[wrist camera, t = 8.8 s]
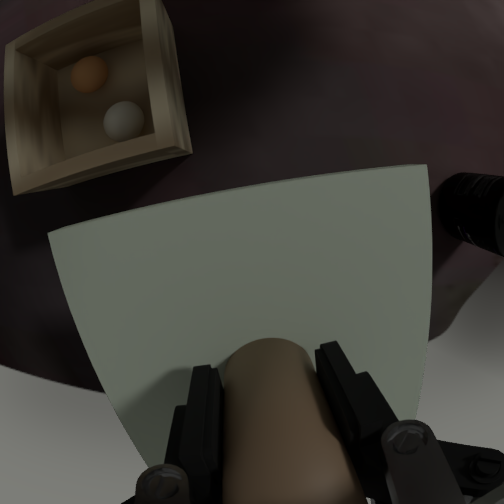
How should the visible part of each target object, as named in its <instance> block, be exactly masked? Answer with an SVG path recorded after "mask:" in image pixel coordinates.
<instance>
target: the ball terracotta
mask: <svg viewBox="0 0 504 504" xmlns="http://www.w3.org/2000/svg"><path fill="white" fill-rule="evenodd" d="M107 77H108V67H107V64H106V63H105V61H104V60H103V59H101V58H100V57H97V56H87V57H84V58H82V59H81V60H79V61H78V62H77V63H76V64H75V65H74V67H73V69H72V71H71V83H72V85H73V87H74V88H75V89H76V90H77V91H79V92H82V93H91V92H94V91H96V90H98V89H99V88H101V87H102V86H103V85H104V83H105V82H106V80H107Z"/></svg>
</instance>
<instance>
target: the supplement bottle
mask: <svg viewBox="0 0 504 504" xmlns="http://www.w3.org/2000/svg"><path fill="white" fill-rule="evenodd" d="M439 215H440V219H441V222H442V225H443V227H444V228H445V230H446V231H447V232H448V233H449V234H450V235H451V236H453V237H455V238H457V239H460V240H462V241H465V242H467V243H470V244H472V245H475V246H477V247H480V248H482V249H485V250H487V251H490V252H492V253H495V254H497V255H499V256H502V257H504V176H496V175H487V174H477V173H466V172H463V173H457V174H455V175H453V176H452V177H450V178H449V179H448V180H447V182H446V183H445V185H444V187H443V189H442V191H441V194H440V198H439Z"/></svg>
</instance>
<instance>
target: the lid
mask: <svg viewBox="0 0 504 504" xmlns="http://www.w3.org/2000/svg"><path fill="white" fill-rule="evenodd" d="M48 237H49V241H50V245H51V249H52V253H53V257H54V260H55V264H56V267H57V271H58V274H59V277H60V280H61V284H62V287H63V290H64V293H65V296H66V299H67V302H68V305H69V308H70V310H71V313H72V316H73V319H74V321H75V324H76V327H77V329H78V332H79V334H80V337H81V339H82V342H83V344H84V347H85V349H86V351H87V354H88V356H89V358H90V361H91V363H92V365H93V367H94V369H95V372H96V374H97V376H98V378H99V380H100V382H101V384H102V386H103V388H104V391H105V393H106V395H107V397H108V398H109V400H110V402H111V404H112V406H113V408H114V410H115V412H116V414H117V416H118V417H119V419H120V421H121V423H122V425H123V426H124V428H125V430H126V432H127V433H128V435H129V436H130V439H131V440H132V442H133V443H134V445H135V447H136V448H137V450H138V452H139V453H140V455H141V456H142V458H143V460H144V461H145V463H146V464H147V466H148V467H149V468H150V467H152V466H155V465H159V464H164V459H165V454H166V449H167V444H168V439H169V434H170V429H171V424H172V419H173V414H174V410H175V407H176V406H177V405H187V399H188V393H189V387H190V381H191V376H192V370H193V367H194V366H200V365H207V364H210V365H211V367H212V368H216V367H217V369H218V372H219V375H220V379H221V382H222V386H223V389H224V398H223V463H222V504H368V502H367V499H366V497H365V494H364V491H363V489H362V486H361V484H360V481H359V479H358V476H357V474H356V471H355V468H354V466H353V463H352V461H351V458H350V456H349V453H348V451H347V448H346V446H345V443H344V441H343V438H342V436H341V433H340V430H339V428H338V425H337V423H336V420H335V418H334V415H333V413H332V410H331V408H330V405H329V403H328V400H327V398H326V395H325V393H324V390H323V388H322V386H321V383H320V381H319V378H318V376H317V373H316V363H315V349H320V344H322V343H327V342H331V341H335V340H336V341H337V342H338V344H339V345H340V347H341V349H342V350H343V352H344V354H345V355H346V357H347V359H348V361H349V362H350V364H351V366H352V367H353V369H354V371H355V372H356V374H357V373H361V372H364V371H367V372H368V373H369V374H370V375H371V377H372V378H373V380H374V382H375V383H376V385H377V386H378V388H379V389H380V391H381V393H382V394H383V396H384V397H385V399H386V401H387V402H388V404H389V405H390V407H391V409H392V410H393V412H394V413H395V415H396V417H397V418H398V420H399V421H401V420H407V419H410V420H415V418H416V414H417V409H418V404H419V399H420V393H421V387H422V381H423V375H424V368H425V361H426V352H427V344H428V335H429V324H430V310H431V292H432V223H431V205H430V191H429V180H428V171H427V165H399V166H389V167H379V168H370V169H361V170H353V171H345V172H337V173H329V174H322V175H315V176H308V177H301V178H294V179H287V180H281V181H275V182H269V183H263V184H257V185H251V186H245V187H239V188H234V189H228V190H223V191H218V192H212V193H207V194H202V195H197V196H192V197H187V198H182V199H178V200H173V201H168V202H164V203H159V204H154V205H150V206H146V207H141V208H137V209H133V210H128V211H124V212H120V213H116V214H112V215H108V216H104V217H100V218H96V219H92V220H88V221H84V222H80V223H77V224H73V225H69V226H66V227H62V228H60V229H57V230H55V231H52V232H49V233H48Z"/></svg>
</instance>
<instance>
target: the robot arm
mask: <svg viewBox="0 0 504 504" xmlns="http://www.w3.org/2000/svg"><path fill="white" fill-rule="evenodd" d="M315 363H316V373H317V376H318V378H319V381H320V383H321V386H322V388H323V390H324V393H325V395H326V398H327V400H328V403H329V405H330V408H331V410H332V413H333V415H334V418H335V420H336V423H337V425H338V428H339V430H340V433H341V436H342V438H343V441H344V443H345V446H346V448H347V451H348V453H349V456H350V458H351V461H352V463H353V466H354V468H355V471H356V474H357V476H358V479H359V481H360V484H361V486H362V489H363V491H364V494H365V497H368V498H371V504H504V454H503V453H502V452H500V451H499V450H495V449H491V448H484V447H476V446H470V445H463V444H457V443H452V442H446V441H441V440H437V439H436V437H435V436H434V433H433V432H432V430H431V428H430V427H429V426H428V425H426V424H425V423H423V422H421V421H418V420H410V419H407V420H401V421H399V420H398V418H397V417H396V415H395V413H394V412H393V410H392V409H391V407H390V405H389V404H388V402H387V401H386V399H385V397H384V396H383V394H382V393H381V391H380V389H379V388H378V386H377V385H376V383H375V382H374V380H373V378H372V377H371V375H370V374H369V373H368V372H367V371H364V372H361V373H357V374H356V372H355V371H354V369H353V367H352V366H351V364H350V362H349V361H348V359H347V357H346V355H345V354H344V352H343V350H342V349H341V347H340V345H339V344H338V342H337V341H336V340H335V341H331V342H327V343H322V344H320V349H315ZM223 398H224V389H223V386H222V382H221V379H220V375H219V372H218V369H217V367H216V368H212V367H211V365H210V364H207V365H200V366H194V367H193V370H192V376H191V381H190V387H189V393H188V399H187V405H177V406H176V407H175V410H174V414H173V419H172V424H171V429H170V434H169V439H168V444H167V449H166V454H165V459H164V464H159V465H155V466H152V467H150V468H148V469H147V470H145V471H144V472H143V473H142V474H141V475H140V477H139V478H138V480H137V484H136V491H135V496H133V497H131V498H130V499H128V500H126V501H125V502H123V503H121V504H222V463H223Z"/></svg>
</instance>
